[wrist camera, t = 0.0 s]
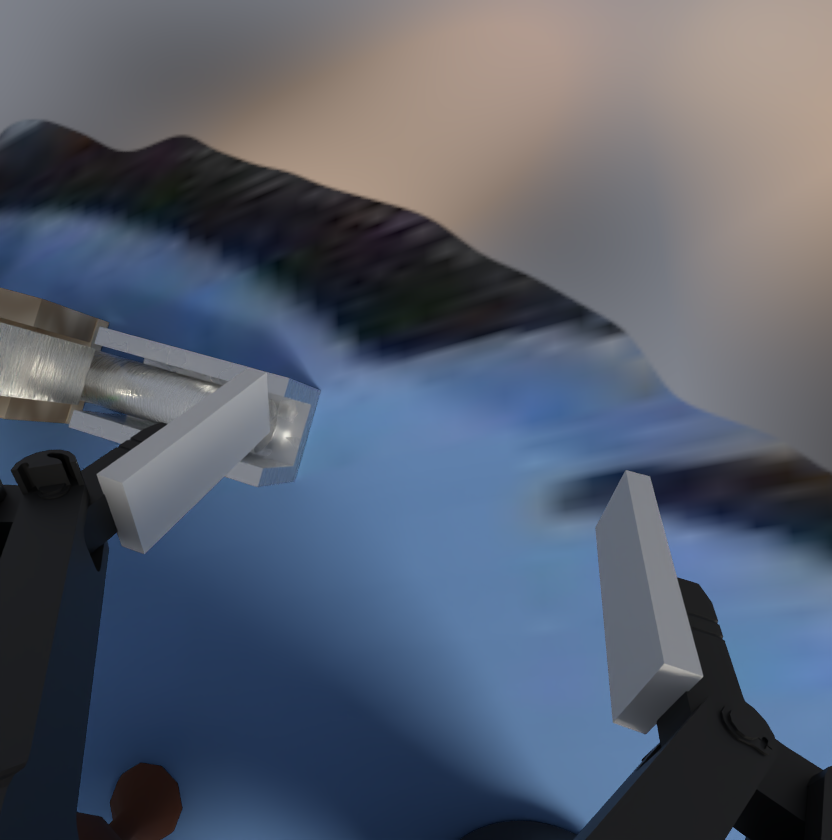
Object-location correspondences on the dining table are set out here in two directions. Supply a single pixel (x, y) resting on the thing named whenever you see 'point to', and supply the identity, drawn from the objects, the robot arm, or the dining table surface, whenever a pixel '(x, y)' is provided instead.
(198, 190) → the dining table surface
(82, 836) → the ice cream bowl
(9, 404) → the socket
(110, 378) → the shiny silver metal piece
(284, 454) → the channel
